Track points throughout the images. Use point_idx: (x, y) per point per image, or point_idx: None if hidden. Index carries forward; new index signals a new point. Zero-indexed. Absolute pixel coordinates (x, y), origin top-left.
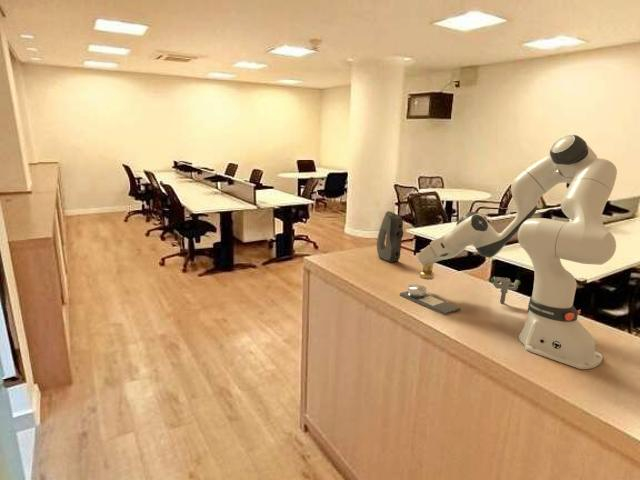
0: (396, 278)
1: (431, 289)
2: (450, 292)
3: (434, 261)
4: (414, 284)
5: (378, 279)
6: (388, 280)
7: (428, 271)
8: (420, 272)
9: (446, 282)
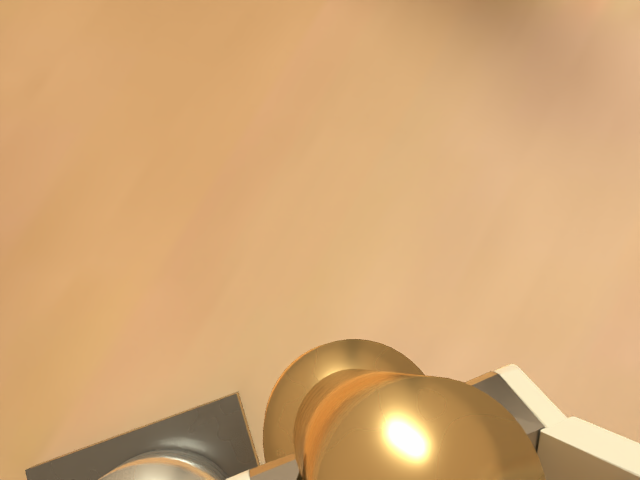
0: (244, 81)
1: None
2: None
3: None
4: (168, 468)
5: (78, 71)
6: (150, 108)
7: None
8: (267, 410)
9: (614, 241)
